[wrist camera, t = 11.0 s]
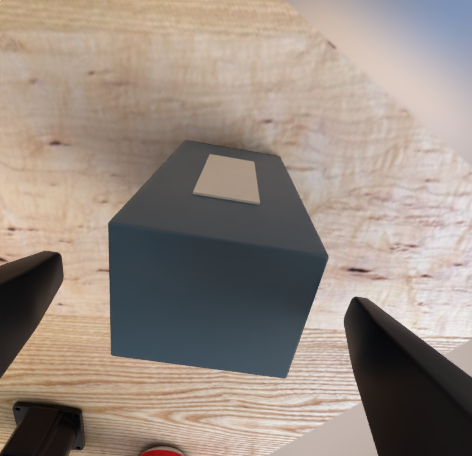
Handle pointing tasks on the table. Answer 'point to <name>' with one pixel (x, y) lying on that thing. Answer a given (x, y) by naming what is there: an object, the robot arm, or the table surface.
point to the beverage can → (162, 451)
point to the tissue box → (214, 264)
